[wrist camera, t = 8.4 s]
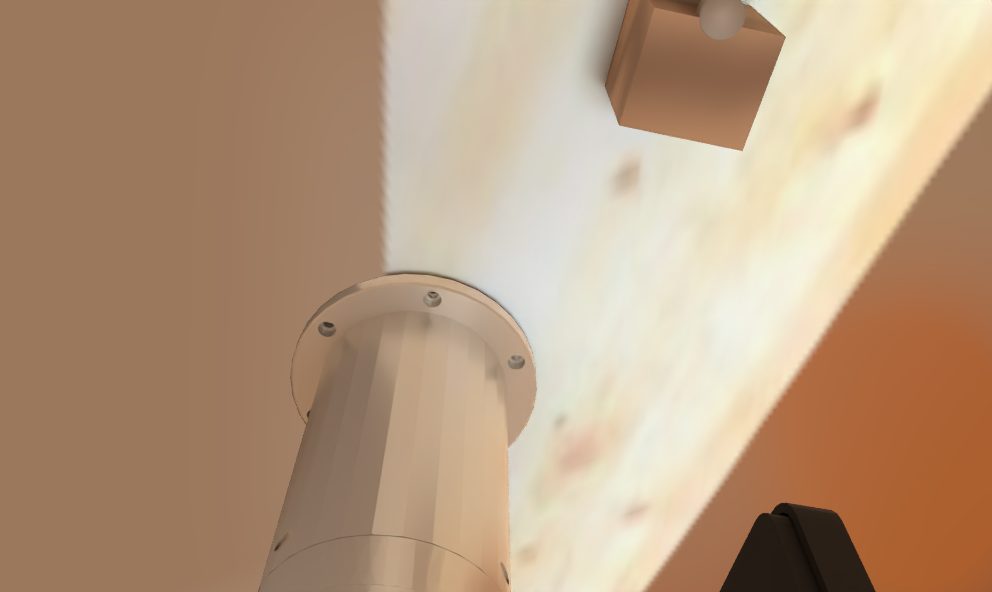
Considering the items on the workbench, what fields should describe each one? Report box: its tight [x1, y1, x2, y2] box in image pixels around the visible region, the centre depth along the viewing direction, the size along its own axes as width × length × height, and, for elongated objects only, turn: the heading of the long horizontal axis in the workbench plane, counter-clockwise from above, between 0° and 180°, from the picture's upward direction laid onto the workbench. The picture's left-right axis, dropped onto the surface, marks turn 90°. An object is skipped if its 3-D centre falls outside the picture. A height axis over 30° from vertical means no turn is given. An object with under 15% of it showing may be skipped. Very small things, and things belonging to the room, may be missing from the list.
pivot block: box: [605, 0, 786, 151], centre depth 34 cm, size 6×5×5 cm
